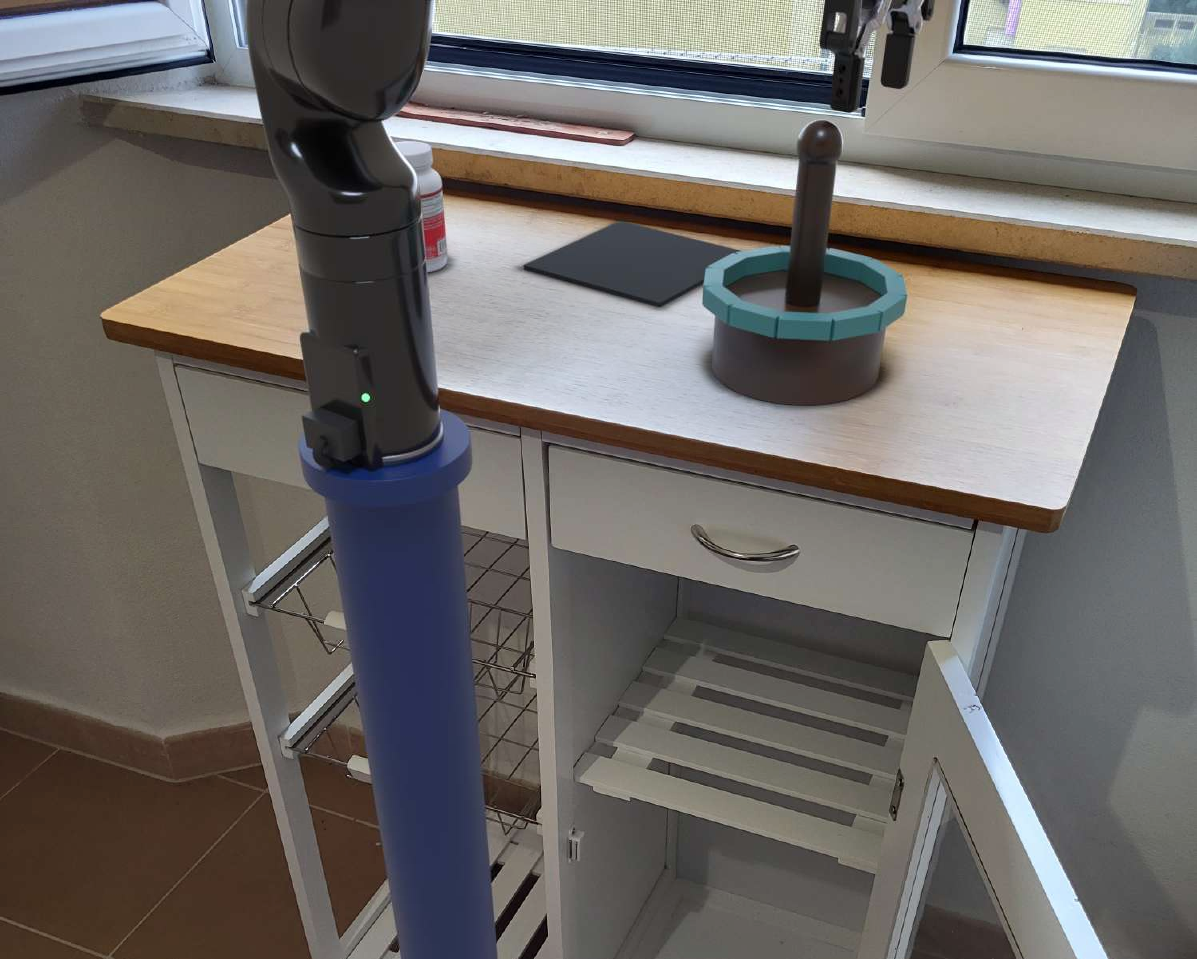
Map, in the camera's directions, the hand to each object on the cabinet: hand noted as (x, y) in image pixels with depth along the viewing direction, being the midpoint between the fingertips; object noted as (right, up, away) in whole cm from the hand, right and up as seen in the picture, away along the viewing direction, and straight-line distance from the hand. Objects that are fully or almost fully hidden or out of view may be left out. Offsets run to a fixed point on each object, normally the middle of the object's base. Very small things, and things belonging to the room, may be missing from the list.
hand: (869, 98), depth 98 cm
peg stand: (-4, -18, +10) cm, 21 cm away
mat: (-18, 0, +29) cm, 34 cm away
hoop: (-4, -14, +6) cm, 16 cm away
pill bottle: (-40, -1, +29) cm, 50 cm away
